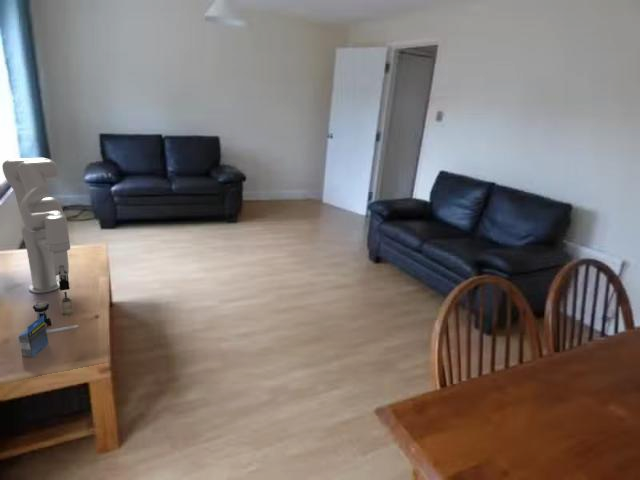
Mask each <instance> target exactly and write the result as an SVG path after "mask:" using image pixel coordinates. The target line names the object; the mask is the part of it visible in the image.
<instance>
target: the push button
mask: <svg viewBox="0 0 640 480" xmlns="http://www.w3.org/2000/svg"><path fill="white" fill-rule="evenodd" d="M49 307H50V304H49V303H48V302H46V301H39V302H36V303H35V304H34V305H33V306H32V309H33V310H34V312H35V313H36V320H38V319H39V318H40V317H42V316H43V315H44V321H45V327H46V328H47V327H50V326H52V319H50V316H49V313H48V311H49ZM38 323H39V322H38Z"/></svg>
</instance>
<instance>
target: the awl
mask: <svg viewBox="0 0 640 480" xmlns="http://www.w3.org/2000/svg"><path fill="white" fill-rule="evenodd" d="M63 295H64V297H63V298H62V300H61V301H60V304H61V305H60V307H61V314H62V316H65V317H69V316H72V315H74V306H73V300H72V298H70V297H68V294H67V291H64V294H63Z"/></svg>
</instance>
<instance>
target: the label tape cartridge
mask: <svg viewBox="0 0 640 480" xmlns="http://www.w3.org/2000/svg"><path fill="white" fill-rule="evenodd" d="M38 322H39V323H38ZM46 330H47V327H45V321H44V315H43V316H42V317H40V318H39V319H35V321H33V322H32V323H31V324H30V325H28V326H27V328H26V331H24V332H23V333H21V334H20V335H19V336H18V340H19V346H20V350H21V351H20V352H21V356H22V357H25V358H33V357H34V356H36V355H37V353H39V352H40V351H41V350H43V348H45V346H47V345H48V344H49V340H48V335H47V334H48V333H46Z"/></svg>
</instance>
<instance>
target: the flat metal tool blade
mask: <svg viewBox="0 0 640 480" xmlns="http://www.w3.org/2000/svg"><path fill="white" fill-rule="evenodd" d="M78 328H79V325H78V324H75V325H68V326H64V327H57V328H53V329H46V333H47V334H51V333H56V332H61V331H66V330H67V331H68V330H72V329H78Z"/></svg>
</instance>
